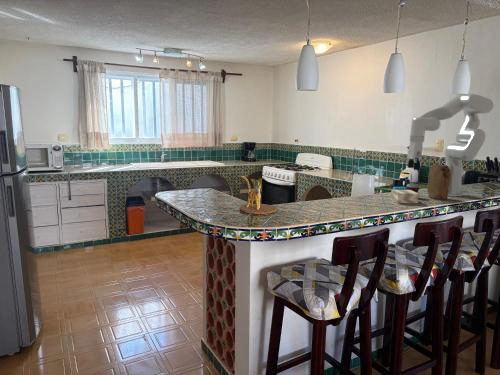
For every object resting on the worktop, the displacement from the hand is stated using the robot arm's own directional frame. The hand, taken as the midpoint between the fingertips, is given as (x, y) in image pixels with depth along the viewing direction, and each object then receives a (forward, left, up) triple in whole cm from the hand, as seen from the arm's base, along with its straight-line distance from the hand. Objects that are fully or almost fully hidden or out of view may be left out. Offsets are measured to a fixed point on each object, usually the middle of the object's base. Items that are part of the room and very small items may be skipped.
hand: (413, 168), depth 214 cm
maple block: (+7, +12, -18) cm, 22 cm away
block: (-16, 0, -18) cm, 23 cm away
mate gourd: (-1, 0, -18) cm, 18 cm away
